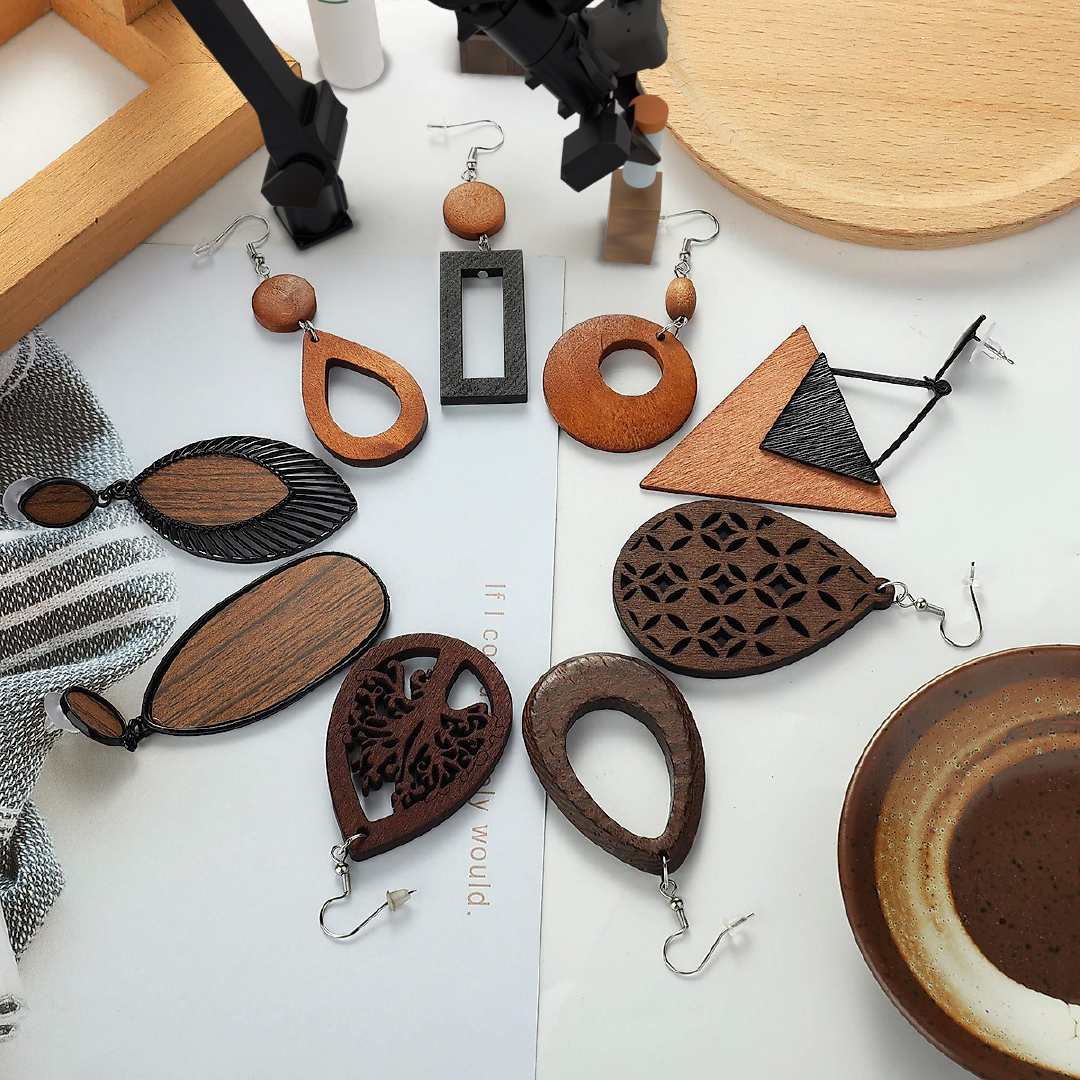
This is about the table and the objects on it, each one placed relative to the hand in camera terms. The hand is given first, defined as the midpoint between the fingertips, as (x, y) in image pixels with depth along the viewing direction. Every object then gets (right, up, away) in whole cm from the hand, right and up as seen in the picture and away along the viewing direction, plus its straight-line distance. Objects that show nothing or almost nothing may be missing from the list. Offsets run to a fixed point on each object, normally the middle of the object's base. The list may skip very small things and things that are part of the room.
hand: (657, 148), depth 91 cm
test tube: (-1, -1, +3) cm, 4 cm away
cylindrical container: (-33, +18, +22) cm, 43 cm away
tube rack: (-12, +20, +23) cm, 33 cm away
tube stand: (-2, -5, +12) cm, 13 cm away
